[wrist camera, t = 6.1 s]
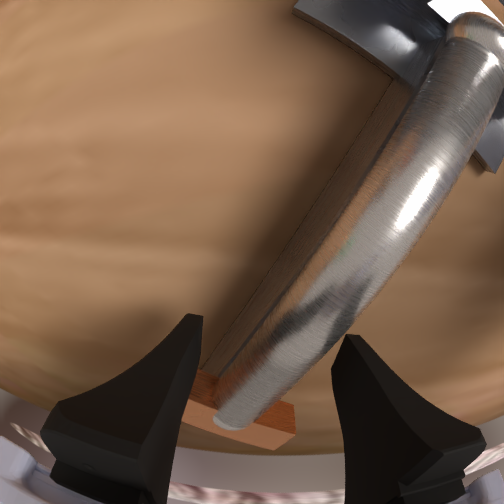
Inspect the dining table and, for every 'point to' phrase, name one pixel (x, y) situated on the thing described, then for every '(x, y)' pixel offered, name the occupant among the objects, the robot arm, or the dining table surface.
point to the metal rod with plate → (361, 240)
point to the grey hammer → (372, 135)
